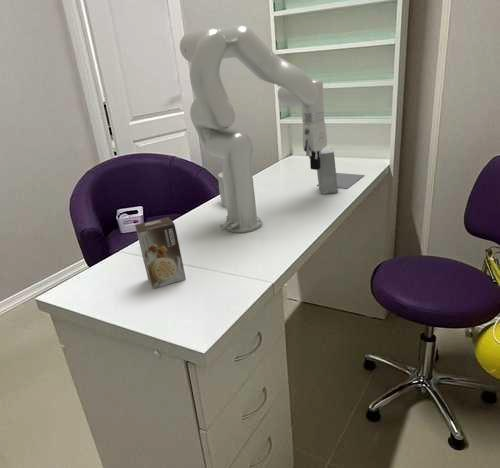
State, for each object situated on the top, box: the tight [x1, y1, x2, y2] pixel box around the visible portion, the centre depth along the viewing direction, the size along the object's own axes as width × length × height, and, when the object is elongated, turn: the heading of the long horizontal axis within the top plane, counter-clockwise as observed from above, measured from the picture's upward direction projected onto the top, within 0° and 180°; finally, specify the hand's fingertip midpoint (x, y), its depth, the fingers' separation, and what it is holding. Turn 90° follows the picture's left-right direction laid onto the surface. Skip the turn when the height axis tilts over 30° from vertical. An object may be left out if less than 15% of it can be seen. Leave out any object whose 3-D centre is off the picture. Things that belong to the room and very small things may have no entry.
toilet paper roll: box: [217, 171, 227, 208], centre depth 161 cm, size 12×12×12 cm
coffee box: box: [134, 216, 187, 289], centre depth 109 cm, size 9×6×16 cm
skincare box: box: [316, 147, 339, 195], centre depth 162 cm, size 8×7×16 cm
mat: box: [316, 172, 365, 190], centre depth 175 cm, size 18×13×1 cm
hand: (315, 168), depth 154 cm, fingers closed
